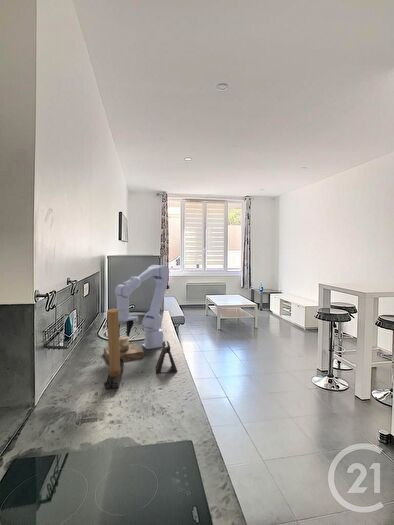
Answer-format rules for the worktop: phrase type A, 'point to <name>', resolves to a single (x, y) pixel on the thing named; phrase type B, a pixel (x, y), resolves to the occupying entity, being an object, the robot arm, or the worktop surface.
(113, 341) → the hammer
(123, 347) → the peg
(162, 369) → the dark a-frame stand
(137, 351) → the board
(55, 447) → the worktop surface
